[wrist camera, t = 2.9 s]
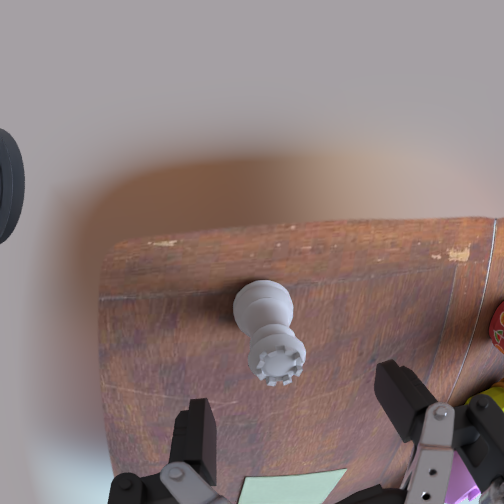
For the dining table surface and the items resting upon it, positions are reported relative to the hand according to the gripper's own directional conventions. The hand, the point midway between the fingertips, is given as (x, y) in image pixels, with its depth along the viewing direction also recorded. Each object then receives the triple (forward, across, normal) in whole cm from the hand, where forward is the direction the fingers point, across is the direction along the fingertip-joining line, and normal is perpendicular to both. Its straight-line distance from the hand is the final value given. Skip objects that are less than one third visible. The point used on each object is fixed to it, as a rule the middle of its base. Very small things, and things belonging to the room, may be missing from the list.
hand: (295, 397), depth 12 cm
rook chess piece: (+11, 0, 0) cm, 11 cm away
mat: (+11, +1, +33) cm, 35 cm away
